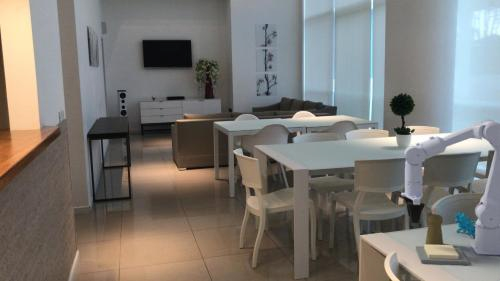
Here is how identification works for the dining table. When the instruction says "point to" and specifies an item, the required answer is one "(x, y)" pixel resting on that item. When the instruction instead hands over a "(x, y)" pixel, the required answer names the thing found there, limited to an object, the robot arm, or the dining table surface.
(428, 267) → the dining table surface
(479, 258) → the dining table surface
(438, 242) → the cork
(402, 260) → the dining table surface
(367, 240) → the dining table surface
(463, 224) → the blue lumpy cluster
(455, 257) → the grey flat slab
